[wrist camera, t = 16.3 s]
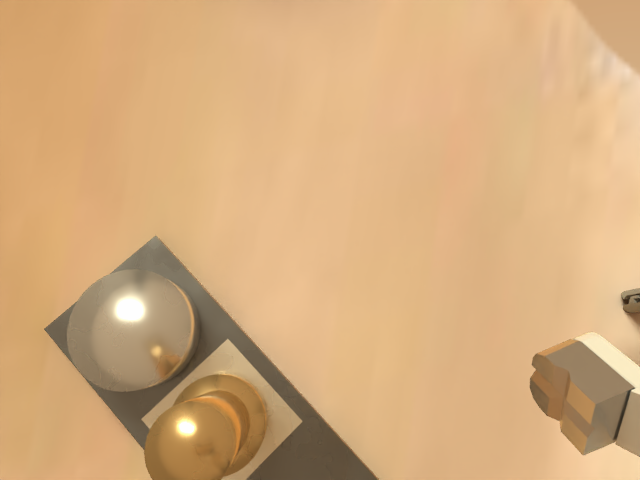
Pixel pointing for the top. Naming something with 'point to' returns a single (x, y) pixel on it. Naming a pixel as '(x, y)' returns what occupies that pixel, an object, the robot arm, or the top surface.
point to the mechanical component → (632, 300)
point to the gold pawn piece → (207, 430)
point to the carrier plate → (189, 364)
